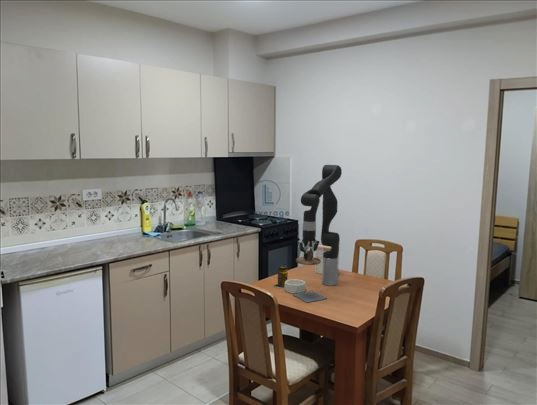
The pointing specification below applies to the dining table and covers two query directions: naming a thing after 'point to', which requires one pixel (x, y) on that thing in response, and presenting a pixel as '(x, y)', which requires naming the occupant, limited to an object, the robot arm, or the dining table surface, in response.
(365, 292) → the dining table surface
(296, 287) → the bowl
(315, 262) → the lid
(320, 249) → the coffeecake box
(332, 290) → the dining table surface
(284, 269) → the condiment
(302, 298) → the mat
